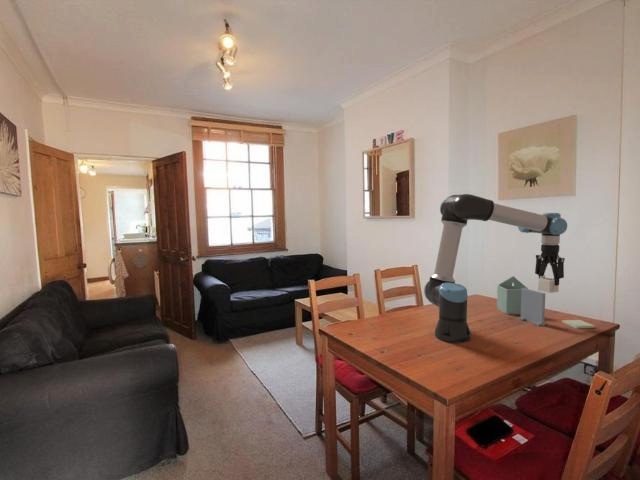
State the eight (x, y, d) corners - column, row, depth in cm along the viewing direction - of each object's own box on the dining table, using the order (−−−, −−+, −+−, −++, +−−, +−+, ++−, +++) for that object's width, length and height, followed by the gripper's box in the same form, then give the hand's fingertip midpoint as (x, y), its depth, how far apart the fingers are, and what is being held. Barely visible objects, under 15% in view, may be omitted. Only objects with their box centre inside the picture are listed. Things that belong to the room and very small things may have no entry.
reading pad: (576, 328, 162) (576, 326, 162) (561, 322, 171) (562, 320, 171) (594, 327, 163) (594, 325, 163) (579, 321, 172) (579, 319, 172)
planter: (491, 311, 193) (491, 276, 191) (497, 308, 198) (497, 274, 196) (523, 317, 180) (524, 280, 179) (528, 314, 185) (529, 278, 184)
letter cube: (549, 292, 168) (549, 280, 167) (538, 290, 174) (538, 278, 173) (558, 291, 170) (558, 279, 169) (547, 289, 175) (547, 277, 175)
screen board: (546, 325, 168) (548, 292, 166) (539, 326, 166) (540, 293, 165) (525, 318, 179) (526, 287, 178) (517, 319, 178) (518, 288, 176)
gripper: (575, 245, 162) (572, 293, 164) (538, 242, 180) (536, 285, 182) (563, 246, 160) (561, 295, 162) (527, 242, 178) (525, 286, 180)
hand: (548, 290), depth 172 cm, fingers closed on letter cube, 6 cm apart
